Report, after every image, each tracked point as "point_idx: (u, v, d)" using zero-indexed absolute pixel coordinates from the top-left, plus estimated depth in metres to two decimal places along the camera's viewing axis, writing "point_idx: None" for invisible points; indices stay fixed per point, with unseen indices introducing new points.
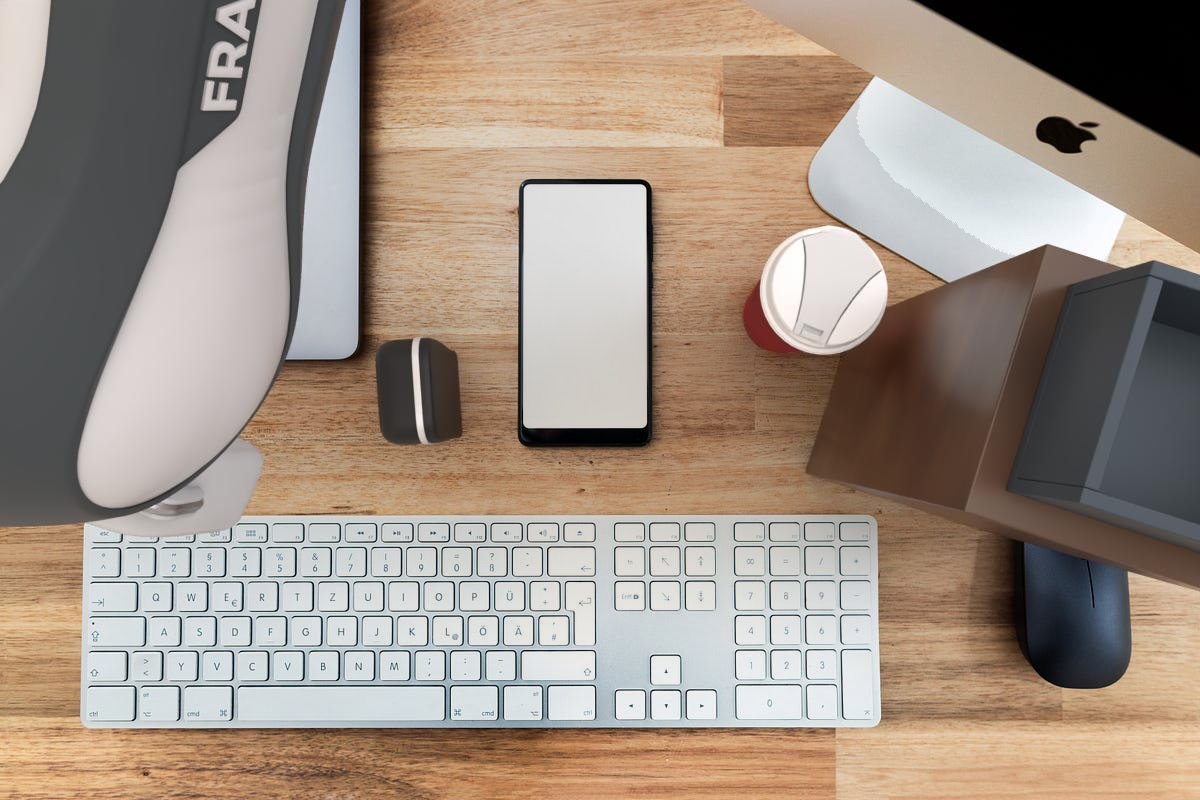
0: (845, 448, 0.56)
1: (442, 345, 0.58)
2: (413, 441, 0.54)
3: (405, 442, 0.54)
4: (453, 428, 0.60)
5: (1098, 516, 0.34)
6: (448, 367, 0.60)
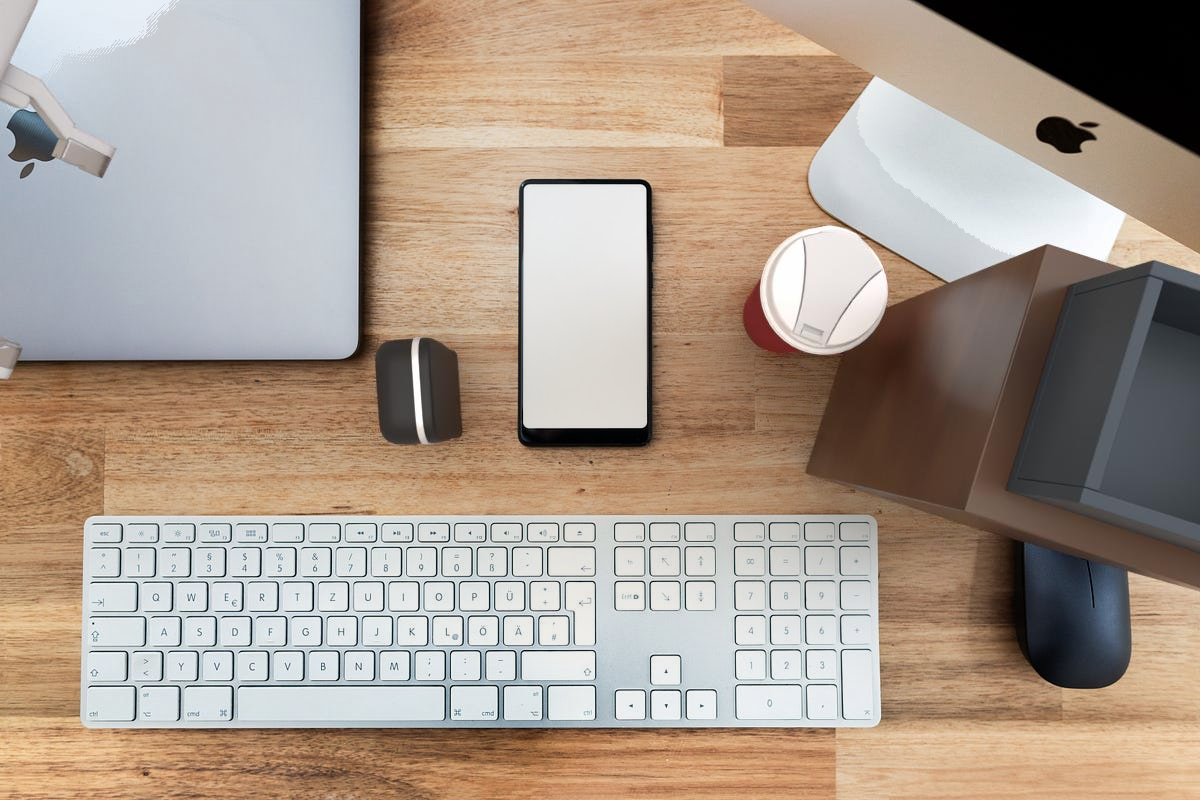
0: (845, 448, 0.56)
1: (442, 345, 0.58)
2: (413, 441, 0.54)
3: (405, 442, 0.54)
4: (453, 428, 0.60)
5: (1098, 516, 0.34)
6: (448, 367, 0.60)
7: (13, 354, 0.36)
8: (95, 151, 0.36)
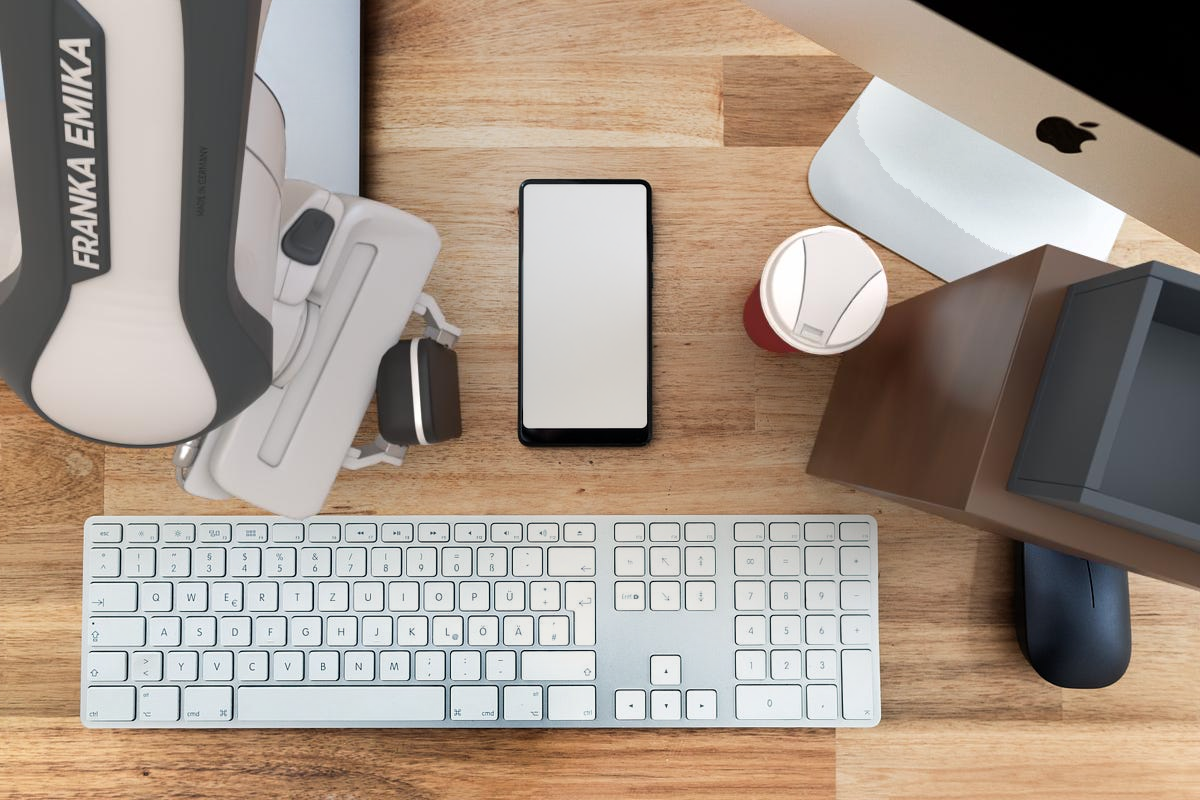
0: (845, 448, 0.56)
1: (441, 345, 0.58)
2: (412, 442, 0.54)
3: (404, 443, 0.54)
4: (452, 428, 0.60)
5: (1098, 516, 0.34)
6: (447, 367, 0.60)
7: (406, 450, 0.58)
8: (453, 334, 0.57)
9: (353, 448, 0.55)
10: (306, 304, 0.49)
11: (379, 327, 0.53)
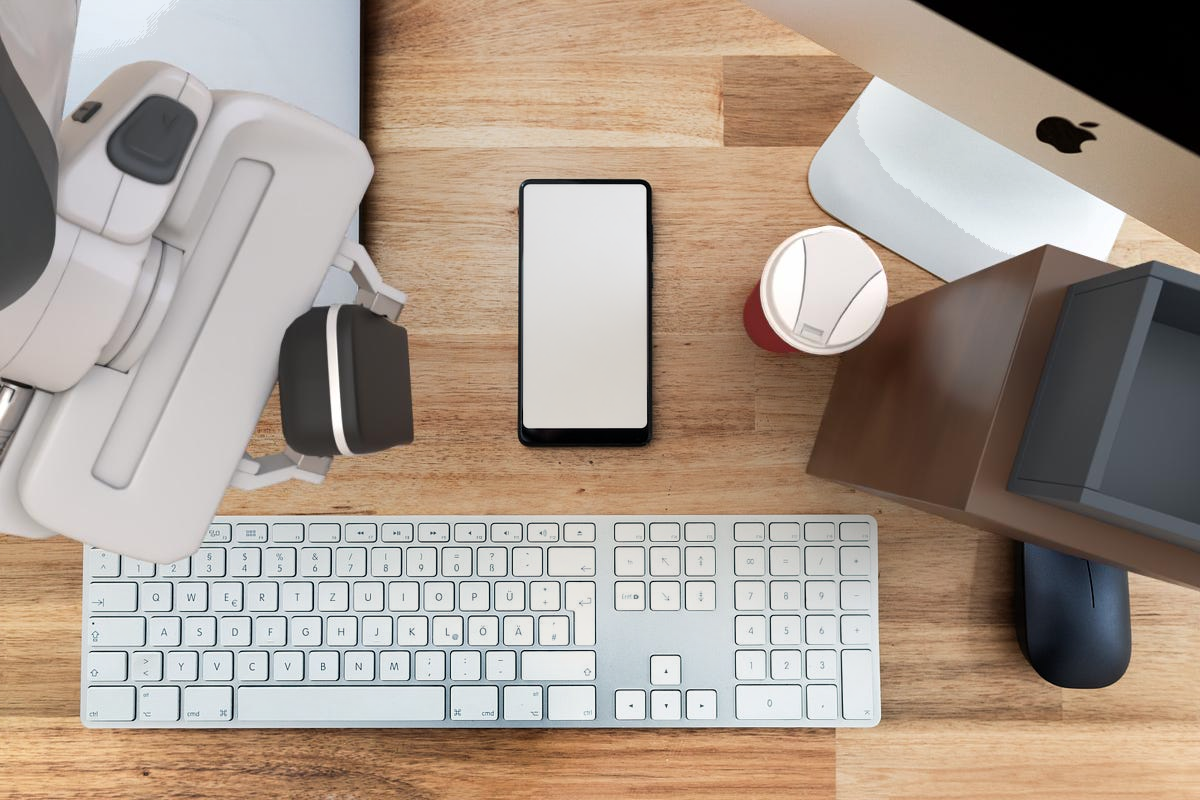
0: (845, 448, 0.56)
1: (379, 317, 0.42)
2: (330, 452, 0.38)
3: (319, 453, 0.38)
4: (397, 432, 0.44)
5: (1098, 516, 0.34)
6: (390, 348, 0.43)
7: (328, 463, 0.41)
8: (395, 301, 0.41)
9: (248, 460, 0.38)
10: (160, 247, 0.33)
11: (280, 286, 0.36)
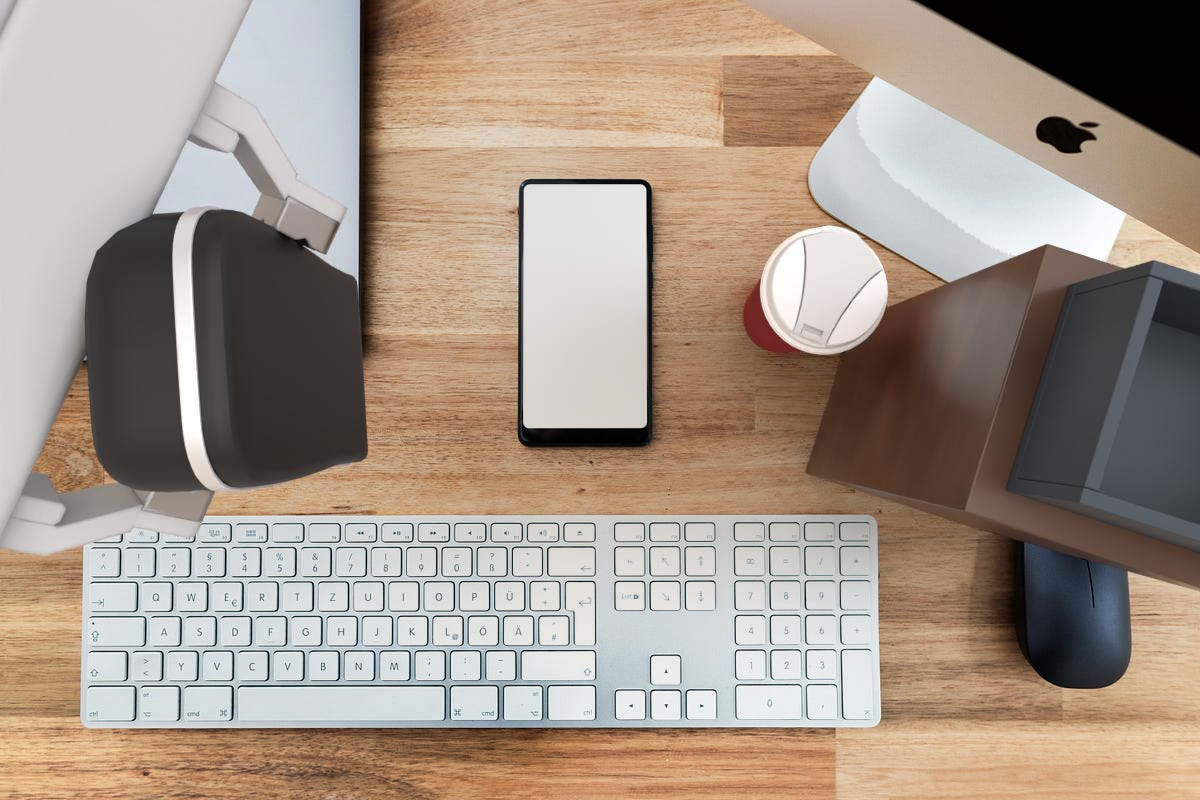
0: (845, 448, 0.56)
1: (297, 245, 0.24)
2: (188, 486, 0.20)
3: (167, 488, 0.20)
4: (332, 444, 0.26)
5: (1098, 516, 0.34)
6: (320, 302, 0.26)
7: (206, 499, 0.24)
8: (322, 215, 0.23)
9: (39, 500, 0.21)
10: None
11: (79, 164, 0.19)
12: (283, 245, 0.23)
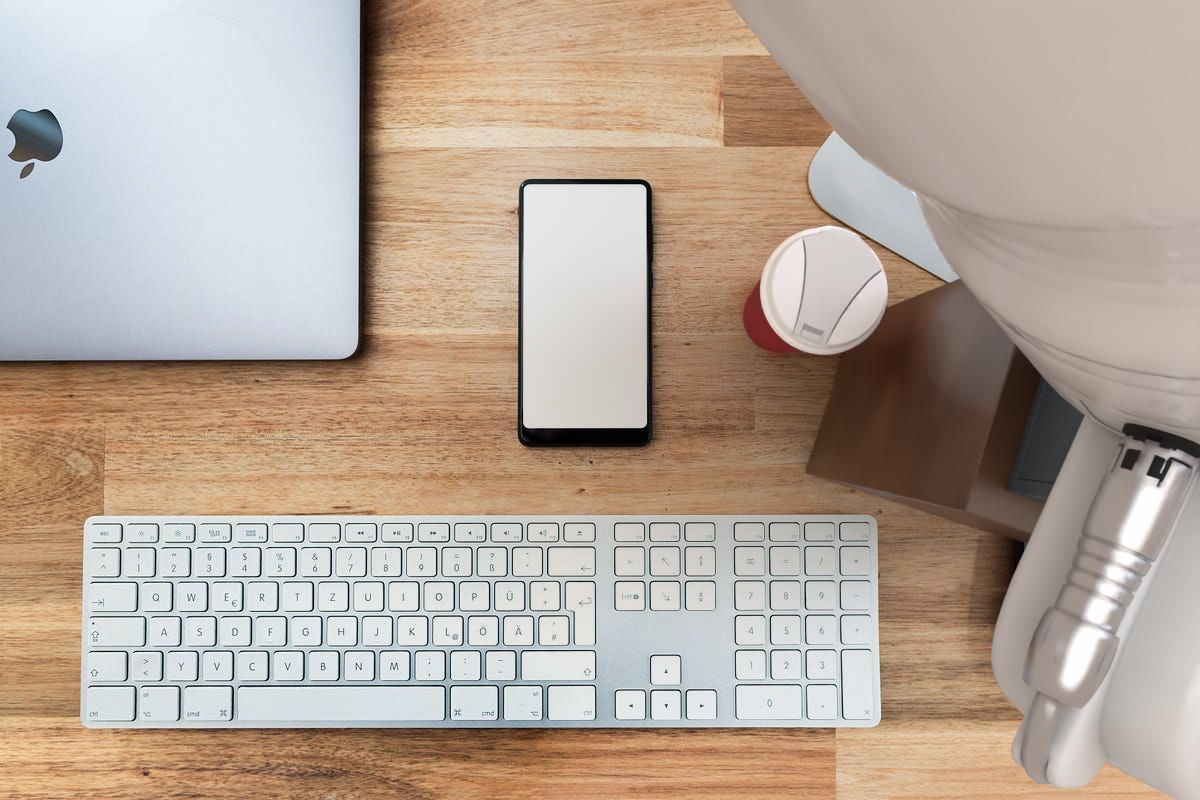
0: (845, 448, 0.56)
1: None
2: None
3: None
4: None
5: None
6: None
7: None
8: None
9: None
10: None
11: None
12: None
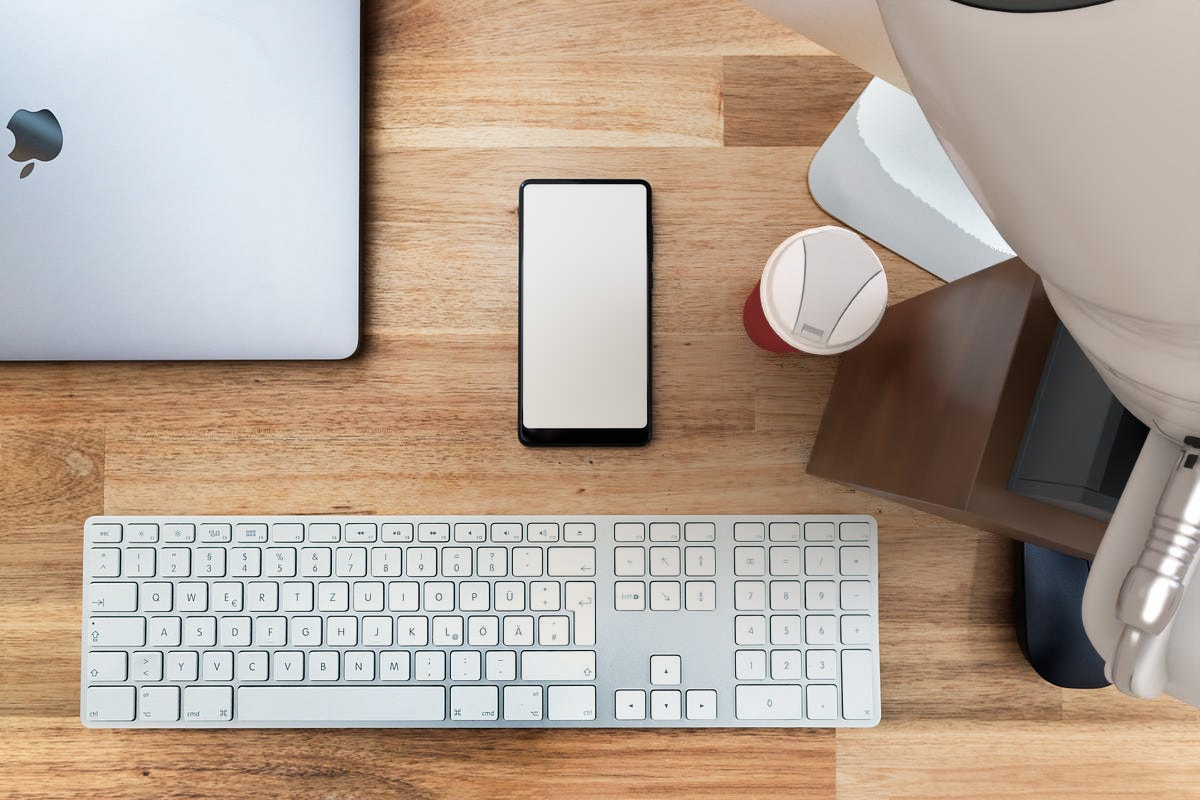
0: (845, 448, 0.56)
1: None
2: None
3: None
4: None
5: (1098, 516, 0.34)
6: None
7: None
8: None
9: None
10: None
11: None
12: None
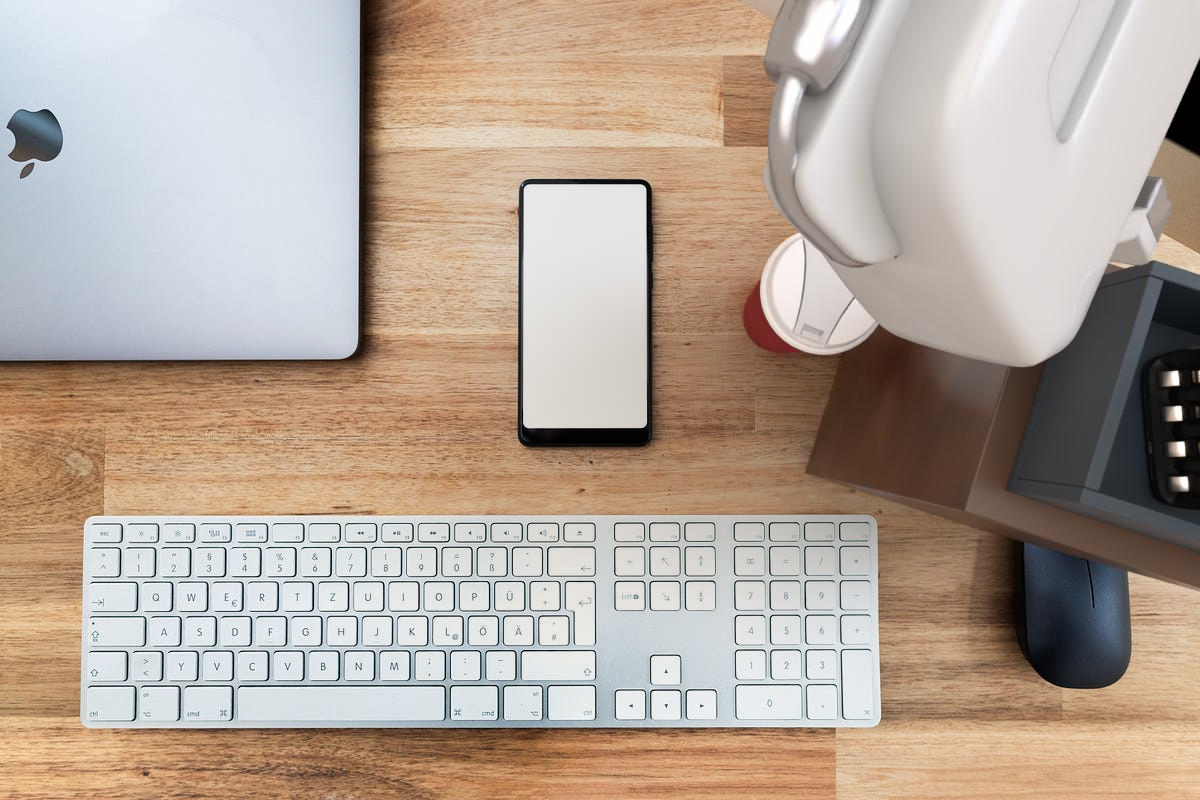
0: (845, 448, 0.56)
1: None
2: None
3: None
4: None
5: (1098, 516, 0.34)
6: None
7: None
8: None
9: None
10: None
11: None
12: None
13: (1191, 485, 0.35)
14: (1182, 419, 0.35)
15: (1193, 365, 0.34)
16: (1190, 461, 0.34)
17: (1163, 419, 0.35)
